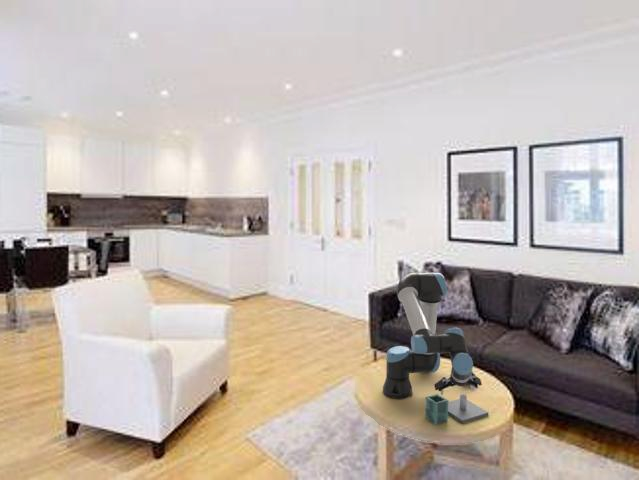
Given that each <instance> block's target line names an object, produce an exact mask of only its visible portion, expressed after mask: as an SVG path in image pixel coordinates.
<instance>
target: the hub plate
mask: <svg viewBox="0 0 639 480" xmlns="http://www.w3.org/2000/svg"><path fill="white" fill-rule="evenodd" d="M467 398H468V396H467V394H466V393H464V392H463V393H460V395H459V398H457V399H454V400H449V401H448V416H450V417H451V418H453V419H454V420H456V421H457V422H459V423H461V424H465V423H469V422H471V421H476V420H478V419H481V418H484V417H488V416H489V412H488V411H487V410H485V409H484V408H482V407H481V406H479V405H477V404H475V403H473V402H471V401H470V400H468V399H467Z"/></svg>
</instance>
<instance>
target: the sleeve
mask: <svg viewBox="0 0 639 480" xmlns="http://www.w3.org/2000/svg"><path fill="white" fill-rule="evenodd" d="M448 402H449V400H448V399H447V398H446V397H444V396H442V395H441V394H438V393H437V394H432V395H428V396H425V412H424V413H425V415H424V416H425V418H426V419H427V420H428V421H429V422H431V423H432V424H434V425H435V426H436V425H440V424H443V423H447V422H448V421H449V419H448V417H449V414H448Z"/></svg>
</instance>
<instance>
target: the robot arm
mask: <svg viewBox="0 0 639 480" xmlns="http://www.w3.org/2000/svg"><path fill="white" fill-rule="evenodd" d="M447 293H448V286H447V281H446V279H445V276H444V275H443V274H442V273H441V272H411V273H407V274H406V275H404V276H403V277H401V279H400V280H399V282H398V283H397V287H396V295H397V299H398V300H399V302H401V304H402V306H403V310H404V311H405V315H406V318H407V321H408V324H409V326H410V329H411V332H412V336H411V338H410V346H411V349H410V348H409V347H408V346H405V345H397V346H393V347H391V348H389V349H388V350H387V352H386V358H385V360H386V361H385V362H386V368H385V370H386V373H385V374H386V377H385V381H384V384H383V386H382V393H383V394H384V396H386V397H388V398H391V399H396V400H404V399H408V398H411V396H413V387H412V383H411V380H410V374H431V373H435V372H437V371H438V370H439V369H440V366H441V354H447V353H448V354H449V359H450V363H451V370H450V375H449V378H446V377H442V378H441V379H440V380H439V381H437V382H436V383H434V384H433V386H434V390H435V391H438V392H440V396H442V395H443V394H444V389H447V388H449V387H456V386H459V387H463V386H468V384H469V386H470V390H471V392H474V391H475V390H474V389H477V388H479V386H483V383H482V380H481V378H479V377H478V376H477V375H475V374H476V373H473V374H472V375H471V376H470V374H471V371H473V369H474V368H473V367H474V361H473V359H472V357H471V356H470V353H469V351H468V347H467V346H468V345H467V343H466V338H465V335H464V332H463V330H462V329H461V328H459V327H451V328H448V329H446V330H445V331H444V333H440V334H436V329H437V318H438V307H439V305H438V304H440V303H442V299H443V298H442V297H446V295H447Z"/></svg>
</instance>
